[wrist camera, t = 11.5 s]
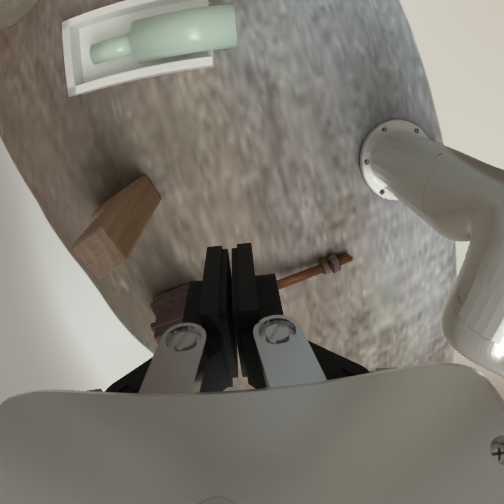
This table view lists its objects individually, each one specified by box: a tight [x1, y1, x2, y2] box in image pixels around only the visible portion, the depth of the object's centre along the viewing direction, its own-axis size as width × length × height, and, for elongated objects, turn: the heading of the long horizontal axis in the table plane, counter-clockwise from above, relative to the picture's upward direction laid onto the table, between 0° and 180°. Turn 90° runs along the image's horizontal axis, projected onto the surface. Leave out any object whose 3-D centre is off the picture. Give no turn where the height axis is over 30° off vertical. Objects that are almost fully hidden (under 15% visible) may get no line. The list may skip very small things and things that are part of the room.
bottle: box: [90, 3, 238, 65], centre depth 31 cm, size 6×6×18 cm
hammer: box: [150, 254, 353, 344], centre depth 50 cm, size 7×33×10 cm, turn 107°
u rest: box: [62, 0, 215, 97], centre depth 32 cm, size 20×11×3 cm, turn 95°
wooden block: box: [72, 175, 161, 279], centre depth 37 cm, size 9×4×18 cm, turn 119°
